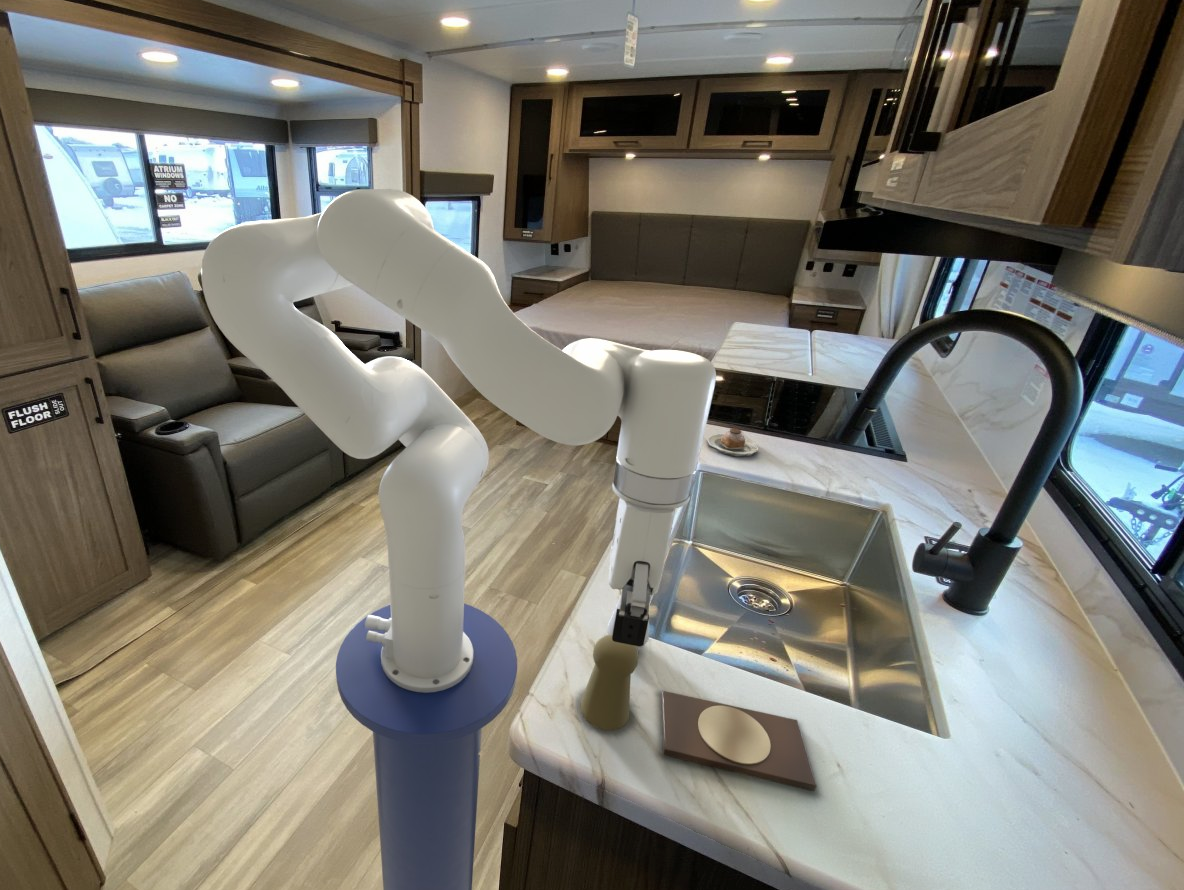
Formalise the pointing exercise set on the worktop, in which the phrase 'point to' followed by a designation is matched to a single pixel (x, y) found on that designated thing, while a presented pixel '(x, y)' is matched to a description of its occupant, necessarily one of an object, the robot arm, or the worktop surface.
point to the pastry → (733, 443)
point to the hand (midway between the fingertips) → (628, 612)
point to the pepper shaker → (609, 684)
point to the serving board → (735, 740)
